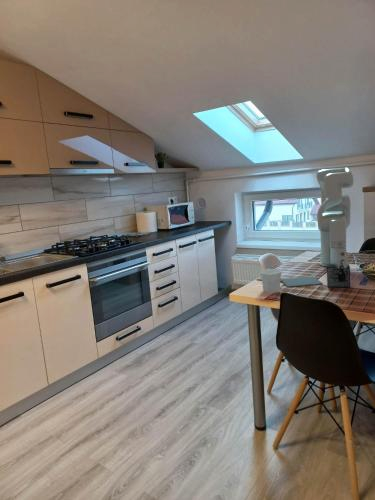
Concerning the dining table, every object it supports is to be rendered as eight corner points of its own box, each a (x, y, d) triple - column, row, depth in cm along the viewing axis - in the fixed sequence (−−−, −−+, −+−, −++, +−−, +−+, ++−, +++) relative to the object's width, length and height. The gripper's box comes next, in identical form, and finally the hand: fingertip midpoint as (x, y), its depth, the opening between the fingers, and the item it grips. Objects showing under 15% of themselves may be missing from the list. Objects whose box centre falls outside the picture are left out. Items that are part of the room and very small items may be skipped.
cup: (270, 295, 180) (269, 275, 178) (257, 290, 188) (256, 271, 187) (286, 290, 184) (285, 271, 182) (272, 286, 193) (271, 268, 191)
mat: (313, 277, 203) (313, 276, 203) (322, 284, 189) (322, 283, 189) (280, 280, 203) (280, 279, 203) (287, 287, 189) (287, 286, 189)
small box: (349, 283, 186) (349, 263, 184) (350, 287, 180) (350, 266, 178) (326, 283, 189) (326, 263, 187) (327, 287, 183) (327, 267, 181)
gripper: (353, 246, 172) (353, 283, 175) (338, 240, 189) (338, 273, 192) (337, 248, 172) (338, 284, 175) (323, 242, 189) (324, 275, 192)
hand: (338, 278), depth 184 cm, fingers closed on small box, 7 cm apart
